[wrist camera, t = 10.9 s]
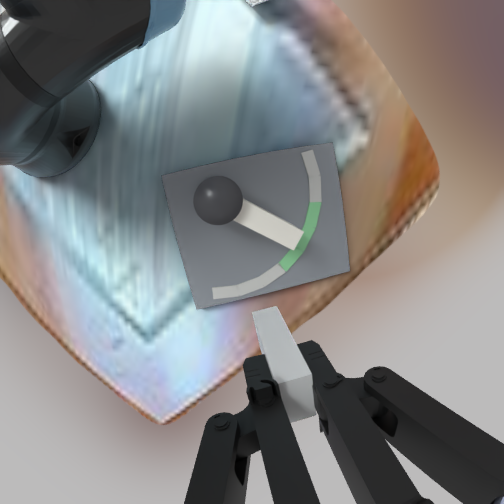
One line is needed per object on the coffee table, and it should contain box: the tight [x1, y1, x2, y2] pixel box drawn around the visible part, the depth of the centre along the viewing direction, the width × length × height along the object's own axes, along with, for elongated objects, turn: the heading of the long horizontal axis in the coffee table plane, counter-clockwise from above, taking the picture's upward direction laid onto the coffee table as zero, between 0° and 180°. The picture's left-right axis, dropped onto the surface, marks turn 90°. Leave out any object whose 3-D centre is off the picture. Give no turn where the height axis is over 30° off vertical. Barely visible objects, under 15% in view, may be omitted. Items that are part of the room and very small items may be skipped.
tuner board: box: [161, 143, 350, 310], centre depth 38 cm, size 22×18×2 cm
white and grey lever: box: [193, 175, 304, 251], centre depth 33 cm, size 14×5×6 cm, turn 62°
